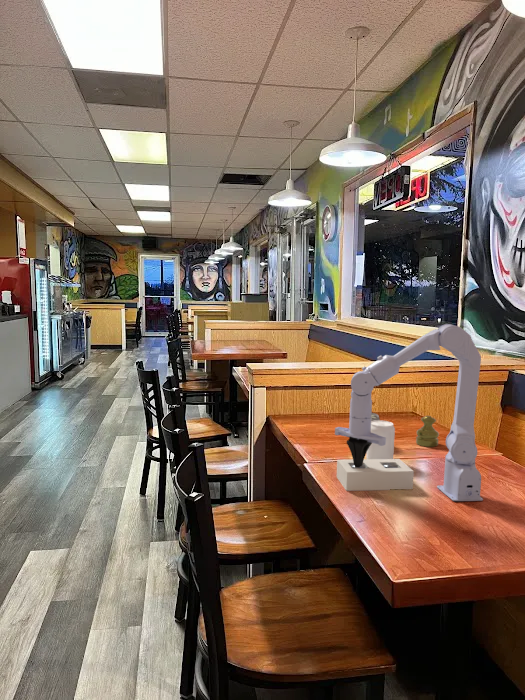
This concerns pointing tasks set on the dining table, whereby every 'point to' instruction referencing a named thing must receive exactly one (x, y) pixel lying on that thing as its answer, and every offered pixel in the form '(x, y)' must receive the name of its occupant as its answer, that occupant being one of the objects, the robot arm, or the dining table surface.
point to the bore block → (374, 475)
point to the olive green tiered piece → (427, 433)
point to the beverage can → (386, 431)
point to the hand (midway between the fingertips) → (358, 465)
